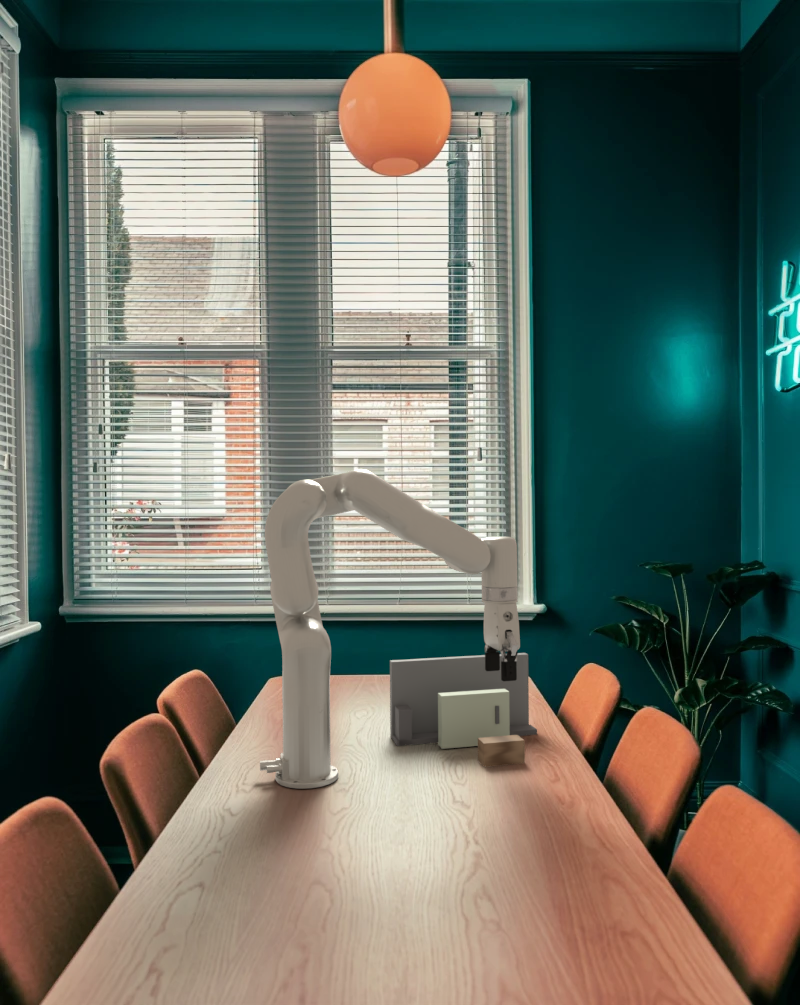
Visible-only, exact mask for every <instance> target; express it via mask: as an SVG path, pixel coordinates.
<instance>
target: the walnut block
mask: <svg viewBox="0 0 800 1005" xmlns="http://www.w3.org/2000/svg"><path fill="white" fill-rule="evenodd" d="M525 755H526V754H525V739H523V737H522V736H518V735H507V736H495V737H483V738H478V746H477V761H478V763H479V764H481V765H482V766H483V767H484V768H489V767H498V766H510V765H521V764H525V757H526V756H525Z"/></svg>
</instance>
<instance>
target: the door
mask: <svg viewBox="0 0 800 1005" xmlns="http://www.w3.org/2000/svg"><path fill="white" fill-rule="evenodd" d="M507 735H510V716H509V691H508V690H506V689H490V690H476V691H461V692H446V693H438V744H437V745H438V746H439V747H440V749H442V750H445V749H454V748H455V749H456V748H467V747H469V748H470V747H478V738H483V737H495V736H507Z"/></svg>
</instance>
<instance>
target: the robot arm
mask: <svg viewBox="0 0 800 1005" xmlns="http://www.w3.org/2000/svg"><path fill="white" fill-rule="evenodd" d="M352 511H355V512H357V513H359V514H360V515H361V516H363V517H365V518H366V519H368V520H370V521H371V522H372V523H374V524H376V525H378V526H379V527H381V528H383V529H384V530H386V531H387V532H390V534H393V535H394V536H395V537H397V538H398V539H402V540H403V541H405V542H407V543H409V544H413V545H416V546H419V547H421V548H424V549H425V550H427V551H429V552H430V553H433V554H434V555H435V556H437V557H440V558H441V559H443V561H444V563H445V564H446V566H448V567H449V569H452V570H454V571H457V572H461V573H463V574H465V575H466V574H467V575H478V574H480V573H481V574H480V575H481V602H482V603H484V605H483V606H484V607H483V610H484V611H483V642H484V644H485V645H484V655H485V670H486V671H499V670H500V654H501V656H502V659H503V661H502V662H501V680H502V681H515V680H516V679H517V654H518V653H519V652H518V650H519V649H520V648H521V639H520V638H521V636H520V621H519V613H518V612H519V611H518V606H517V602H518V553H517V552H518V546H517V541H516V539H515V538H513V537H511V536H488V537H484V538H483V537H479V536H477V535H475V534H473V533H472V532H471V531H469V530H467V529H465V528H464V527H462V526H461V525H459V524H458V523H456V522H454V521H452V520H450V519H449V518H447V517H446V516H443V514H440V513H439V512H436V511H435V510H433V509H432V508H430V507H429V506H427V505H425V504H424V503H421V502H420V501H418V500H417V499H415V498H413V497H411V496H410V495H409V494H407V493H406V492H404V491H402V489H401V490H400V489H399V488H397V487H396V486H394V485H392V484H391V483H390V482H387V481H386V480H384V479H383V478H382V477H381V476H378V475H377V474H375V473H373V472H371V471H370V470H368V469H363V468H357V469H352V470H349V471H346V472H341V473H337V474H333V475H328V476H324V477H317V478H312V479H300V480H296V481H294V482H293V483H291V484H290V485H289V486H288V487H287V488H286V489H285V490H284V491H283V492H282V493H281V494H280V495H279V496H278V497H277V498H276V499H275V501H274V502H273V503H272V505H271V507H270V509H269V512H268V513H267V518H266V520H265V525H264V526H265V527H264V540H265V541H264V543H265V547H266V548H265V549H266V554H267V561H268V562H267V563H268V569H269V573H270V580H271V581H270V588H269V589H270V598H271V603H272V608H273V612H274V617H275V623H276V624H275V625H276V628H277V633H278V638H279V643H280V647H281V655H282V656H281V658H282V660H281V661H282V665H281V667H282V671H281V672H282V674H281V675H282V677H281V685H282V688H281V697H282V699H281V700H282V701H281V702H282V752H281V753H280V757H276V758H275V759H273V760H272V759H271V760H269V759H267V760H265V759H264V760H262V759H261V760H259V771H266V774H273V773H275V775H274V777H275V779H274V780H275V781H276V783H277V784H279V786H282V787H285V788H290V789H297V790H298V789H299V790H301V789H302V790H304V789H305V790H306V789H315V788H316V789H317V788H321V787H326V786H328V785H330V784H333V783H334V782H336V780H338V779H339V770H338V768H337V767H336V766H334V765H332V764H331V758H332V757H331V663H332V662H331V660H332V645H331V640H330V636H329V634H328V633H327V630H326V629H325V628H324V626H323V621H322V616H321V610H320V605H319V599H318V598H319V584H318V581H317V578H316V575H315V572H314V567H313V562H312V556H311V548H310V544H309V529H310V527H311V525H312V523H313V521H315V520H316V519H319V518H324V517H330V516H335V515H338V514H344V513H347V512H352Z"/></svg>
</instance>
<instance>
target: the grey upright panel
mask: <svg viewBox="0 0 800 1005" xmlns="http://www.w3.org/2000/svg"><path fill="white" fill-rule="evenodd" d="M502 661H503V659H502V656H501V653H500V670H499V671H486V670H485V654H481V655H477V654H476V655H464V656H463V655H462V656H446V657H445V656H444V657H443V656H442V657H427V658H426V657H425V658H410V659H392V660H391V659H390V660H389V702H390V703H389V710H390V711H389V712H390V714H389V718H390V720H389V721H390V724H389V726H390V729H389V730H390V738H391V739H392V741H393V743H394V744H395V745H396V746H397V747H398V746H411V745H412V746H413V745H423V744H436V743H438V693H446V692H461V691H476V690H490V689H506V690H508V691H509V716H510V735H518V736H520V737H524V736H535V735H536V736H537V735H538V728H536V727H534V726H533V725H531V724H530V719H529V718H530V711H529V710H530V708H529V707H530V705H529V704H530V702H529V701H530V700H529V698H530V697H529V654H528V653H526V652H518V654H517V679H516V680H515V681H502V680H501V662H502Z"/></svg>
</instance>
